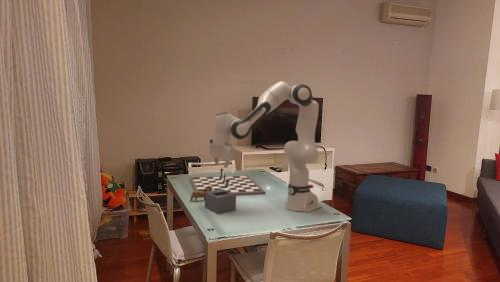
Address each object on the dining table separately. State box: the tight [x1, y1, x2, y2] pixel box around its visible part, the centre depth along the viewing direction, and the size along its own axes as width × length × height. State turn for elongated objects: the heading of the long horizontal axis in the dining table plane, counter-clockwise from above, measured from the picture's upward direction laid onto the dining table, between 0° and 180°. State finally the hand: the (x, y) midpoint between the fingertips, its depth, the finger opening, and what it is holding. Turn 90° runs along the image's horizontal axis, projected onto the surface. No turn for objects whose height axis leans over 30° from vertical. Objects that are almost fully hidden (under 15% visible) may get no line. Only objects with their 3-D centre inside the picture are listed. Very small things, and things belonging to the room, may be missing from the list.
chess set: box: [188, 168, 266, 199], centre depth 254 cm, size 45×45×11 cm
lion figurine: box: [188, 186, 212, 203], centre depth 220 cm, size 15×5×9 cm, turn 119°
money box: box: [204, 189, 237, 215], centre depth 207 cm, size 12×14×9 cm
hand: (221, 166), depth 204 cm, fingers open, 8 cm apart
